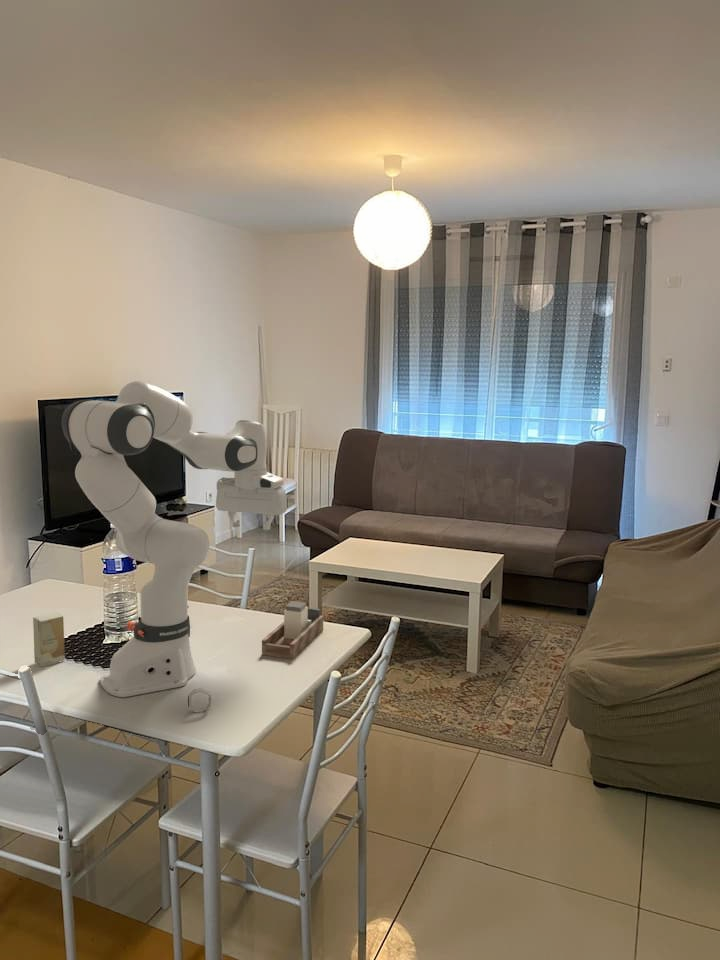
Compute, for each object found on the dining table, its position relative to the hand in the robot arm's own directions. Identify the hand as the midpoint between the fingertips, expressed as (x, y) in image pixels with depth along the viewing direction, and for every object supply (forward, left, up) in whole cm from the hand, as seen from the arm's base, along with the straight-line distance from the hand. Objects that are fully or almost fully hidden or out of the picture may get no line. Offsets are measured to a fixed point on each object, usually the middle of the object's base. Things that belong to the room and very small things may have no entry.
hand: (251, 528), depth 199 cm
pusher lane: (+7, -11, -31) cm, 34 cm away
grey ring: (-32, -33, -31) cm, 56 cm away
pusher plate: (+11, -8, -30) cm, 33 cm away
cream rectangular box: (+8, -10, -30) cm, 33 cm away
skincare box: (-51, +14, -31) cm, 61 cm away
